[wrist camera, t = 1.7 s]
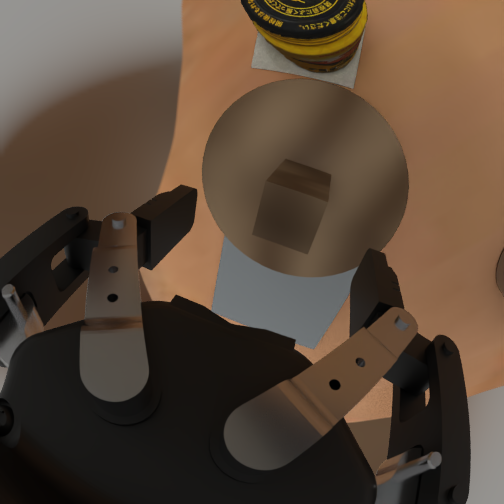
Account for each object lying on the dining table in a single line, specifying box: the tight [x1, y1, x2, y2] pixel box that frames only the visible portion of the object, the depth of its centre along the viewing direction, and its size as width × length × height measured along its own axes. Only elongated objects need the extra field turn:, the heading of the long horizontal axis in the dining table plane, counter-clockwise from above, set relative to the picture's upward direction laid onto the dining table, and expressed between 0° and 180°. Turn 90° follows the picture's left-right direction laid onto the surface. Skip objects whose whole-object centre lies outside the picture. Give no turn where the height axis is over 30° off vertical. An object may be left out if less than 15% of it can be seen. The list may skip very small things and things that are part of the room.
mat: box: [211, 236, 359, 349], centre depth 30 cm, size 14×14×1 cm
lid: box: [202, 79, 409, 277], centre depth 15 cm, size 14×14×6 cm
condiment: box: [241, 0, 368, 88], centre depth 11 cm, size 7×8×12 cm
